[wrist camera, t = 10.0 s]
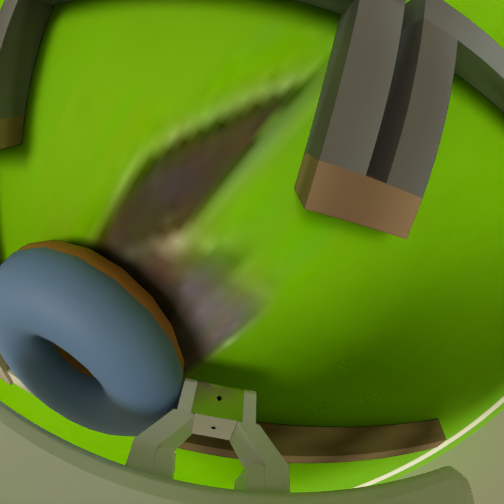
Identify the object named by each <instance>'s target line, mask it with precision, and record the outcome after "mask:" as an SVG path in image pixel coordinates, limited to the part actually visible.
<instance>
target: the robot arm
mask: <svg viewBox="0 0 504 504" xmlns="http://www.w3.org/2000/svg"><path fill="white" fill-rule="evenodd" d="M256 402H257V393H256V391H252V390H245V389H241V388H235V387H229V386H223V385H216V384H212V383H207V382H203V381H199V380H195V379H191V378H185V381H184V384H183V388H182V392H181V396H180V400H179V404H178V408H177V409H173V410H171V411H170V412H169V413H167V414H166V415H165V416H164V417H162V418H161V419H160V420H158V421H157V422H156V423H154V424H153V425H152V426H150V427H149V428H148V429H146V430H145V431H143V432H142V433H141V434H139V435H138V436H137V437H135V438H134V440H133V443H132V446H131V450H130V453H129V456H128V459H127V462H126V466H125V465H122V464H119V463H117V462H114V461H111V460H109V459H106V458H103V457H101V456H98V455H96V454H94V453H91V452H89V451H87V450H84V449H82V448H80V447H78V446H76V445H74V444H72V443H69V442H67V441H65V440H63V439H61V438H60V437H58V436H56V435H54V434H52V433H50V432H48V431H47V430H45V429H43V428H41V427H40V426H38V425H36V424H34V423H33V422H31V421H30V420H28V419H26V418H25V417H23V416H22V415H20V414H19V413H17V412H16V411H14V410H13V409H11V408H10V407H8V406H7V405H5V404H4V403H3V402H1V401H0V504H474V500H473V496H472V491H471V488H470V484H469V482H468V480H467V479H466V478H465V477H464V476H463V475H462V474H461V473H460V472H458V471H457V470H456V469H454V468H453V467H451V466H446V467H442V468H440V469H436V470H433V471H430V472H427V473H423V474H420V475H416V476H413V477H409V478H405V479H401V480H397V481H392V482H388V483H383V484H377V485H372V486H366V487H359V488H352V489H344V490H334V491H322V492H301V493H290V480H289V465H288V463H287V462H286V461H285V459H284V458H283V457H282V455H281V454H280V453H279V451H278V450H277V449H276V447H275V446H274V445H273V443H272V442H271V440H270V439H269V438H268V436H267V435H266V433H265V432H264V430H263V429H262V427H261V426H260V425H259V424H256ZM192 433H193V434H198V435H204V436H209V437H215V438H220V439H225V440H230V443H231V445H232V447H233V449H234V451H235V453H236V454H237V456H238V458H239V460H240V462H241V464H242V465H243V467H244V471H243V472H242V473H241V474H240V476H239V477H238V478H237V479H236V481H235V486H234V490H232V489H224V488H216V487H210V486H204V485H198V484H193V483H188V482H183V481H178V480H174V473H175V455H176V454H175V452H174V451H175V450H176V449H177V448H178V447H179V446H180V445H181V444H182V443H183V442H184V441H185V440H186V439H187V438H188V437H189V436H191V435H192Z"/></svg>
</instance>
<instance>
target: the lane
mask: <svg viewBox="0 0 504 504" xmlns="http://www.w3.org/2000/svg"><path fill="white" fill-rule="evenodd" d="M67 1H71V0H5V1H4V3H3V5H2V8H1V10H0V149H2V148H6V147H10V146H14V145H18V144H22V137H23V126H24V117H25V110H26V103H27V97H28V91H29V86H30V81H31V76H32V72H33V67H34V63H35V59H36V56H37V52H38V48H39V45H40V42H41V38H42V35H43V32H44V29H45V26H46V23H47V21H48V18H49V15H50V13H51V10H52V7H53V5H56V4H60V3H63V2H67ZM295 1H299V2H302V3H306V4H310V5H313V6H317V7H320V8H323V9H326V10H329V11H332V12H335V13H338V14H341V15H340V19H339V23H338V27H337V31H336V35H335V39H334V43H333V48H332V51H331V55H330V59H329V63H328V67H327V71H326V75H325V79H324V83H323V86H322V90H321V94H320V98H319V102H318V105H317V109H316V113H315V116H314V120H313V124H312V127H311V131H310V135H309V138H308V142H307V146H306V149H305V153H304V156H303V160H302V163H301V167H300V170H299V174H298V177H297V181H296V184H295V188H294V189H295V191H296V193H297V195H298V197H299V199H300V201H301V203H302V205H303V207H304V209H307V210H311V211H315V212H318V213H322V214H325V215H329V216H332V217H336V218H339V219H343V220H346V221H350V222H353V223H356V224H360V225H363V226H366V227H370V228H373V229H376V230H379V231H382V232H385V233H389V234H392V235H395V236H398V237H401V238H404V239H407V237H408V234H409V232H410V229H411V227H412V224H413V222H414V219H415V217H416V214H417V212H418V209H419V206H420V203H421V201H422V198H423V195H424V192H425V189H426V186H427V183H428V180H429V177H430V174H431V171H432V168H433V164H434V161H435V158H436V154H437V151H438V147H439V143H440V139H441V135H442V131H443V127H444V123H445V119H446V114H447V110H448V105H449V100H450V94H451V89H452V83H453V76H454V73H455V74H457V75H458V76H459V77H461V78H462V79H464V80H465V81H466V82H468V83H469V84H470V85H471V86H473V87H474V88H475V89H477V90H478V91H479V92H480V93H482V94H483V95H484V96H485V97H486V98H488V99H489V100H490V101H491V102H492V103H493V104H494V105H496V106H497V107H498V108H499V109H500V110H501V111H502V112H503V113H504V49H503V48H502V47H501V46H499V45H498V44H497V43H496V42H495V41H494V40H493V39H492V38H491V37H490V36H489V35H487V34H486V33H485V32H484V31H483V30H482V29H480V28H479V27H478V26H477V25H475V24H474V23H473V22H472V21H470V20H469V19H468V18H467V17H465V16H464V15H463V14H461V13H460V12H459V11H457V10H456V9H454V8H453V7H452V6H450V5H449V4H447V3H446V2H444V1H443V0H410V1H409V2H407V3H406V4H405V1H406V0H295ZM0 378H1V379H3V380H4V381H6V382H7V383H8V384H10V385H12V383H15V384H16V385H18V386H20V387H21V388H23V389H24V390H26V391H28V392H29V393H31V392H30V391H29V390H28V389H27V388H26V387H25V385H24V384H23V383H22V382H21V381H20V380H19V379H18V378H17V377H16V376H15V374H14V373H13V372H12V370H11V369H10V367H9V366H8V364H7V363H6V361H5V360H4V359H3V357H2V355H1V353H0ZM31 394H32V393H31ZM33 395H34V394H33ZM34 396H35V395H34ZM256 424H259V425H260V426H261V427H262V429H263V430H264V432H265V433H266V435H267V436H268V438H269V439H270V440H271V442H272V443H273V445H274V446H275V447H276V449H277V450H278V451H279V453H280V454H281V455H282V457H283V458H284V459H285V461H286V462H287V463H335V462H350V461H361V460H370V459H378V458H385V457H392V456H398V455H403V454H409V453H414V452H418V451H423V450H427V449H431V448H435V447H438V446H439V445H440V444H441V443H443V442H444V441H445V440H446V437H445V435H444V432H443V430H442V427H441V425H440V422H439V420H438V419H434V420H428V421H421V422H414V423H406V424H396V425H384V426H368V427H308V426H292V425H279V424H269V423H260V422H256ZM137 436H138V435H137ZM178 448H181V449H185V450H190V451H194V452H199V453H204V454H210V455H216V456H222V457H229V458H236V459H239V458H238V456H237V454H236V453H235V451H234V449H233V447H232V445H231V443H230V440H225V439H220V438H215V437H209V436H204V435H198V434H193V433H192V435H191V436H189V437H188V438H187V439H186V440H185V441H184V442H183V443H182V444H181V445H180V446H179V447H178Z"/></svg>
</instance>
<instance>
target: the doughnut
mask: <svg viewBox="0 0 504 504" xmlns="http://www.w3.org/2000/svg"><path fill="white" fill-rule="evenodd" d="M0 353H1V355H2V357H3V359H4V360H5V361H6V363H7V364H8V366H9V367H10V369H11V370H12V372H13V373H14V374H15V376H16V377H17V378H18V379H19V380H20V381H21V382H22V383H23V384H24V385H25V387H26V388H27V389H28V390H29V391H30V392H31V393H32V394H34V395H35V396H36V397H37V398H38V399H40V400H41V401H42V402H43V403H44V404H46V405H47V406H48V407H49V408H51V409H53V410H54V411H56V412H57V413H59V414H60V415H62V416H64V417H65V418H67V419H69V420H70V421H73V422H75V423H77V424H79V425H81V426H84V427H86V428H88V429H91V430H94V431H98V432H102V433H105V434H110V435H118V436H137V435H139V434H141V433H142V432H143V431H145V430H146V429H148V428H149V427H150V426H152V425H153V424H154V423H156V422H157V421H158V420H160V419H161V418H162V417H164V416H165V415H166V414H167V413H169V412H170V411H171V410H173V409H177V408H178V404H179V400H180V396H181V392H182V383H183V373H184V359H183V356H182V353H181V350H180V347H179V344H178V341H177V339H176V336H175V333H174V330H173V327H172V325H171V323H170V322H169V321H168V319H167V318H166V316H165V315H164V313H163V312H162V310H161V309H160V308H159V306H158V305H157V303H156V302H155V300H154V299H153V297H152V296H151V295H150V294H149V293H148V292H147V291H146V290H145V289H144V288H142V287H141V286H140V285H139V284H138V283H137V282H136V281H135V280H134V279H133V278H132V277H131V276H130V275H129V274H128V273H127V272H126V271H125V270H124V269H123V268H121V267H119V266H117V265H116V264H114V263H112V262H111V261H109V260H107V259H106V258H104V257H103V256H101V255H99V254H98V253H96V252H94V251H93V250H91V249H89V248H85V247H81V246H78V245H74V244H71V243H67V242H64V241H58V240H50V241H43V242H36V243H30V244H27V245H25V246H23V247H21V248H20V249H19V250H18V251H16V252H14V253H13V254H12V255H11V256H9V257H8V258H7V259H6V260H5V261H4V262H3V263H2V264H1V265H0Z"/></svg>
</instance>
